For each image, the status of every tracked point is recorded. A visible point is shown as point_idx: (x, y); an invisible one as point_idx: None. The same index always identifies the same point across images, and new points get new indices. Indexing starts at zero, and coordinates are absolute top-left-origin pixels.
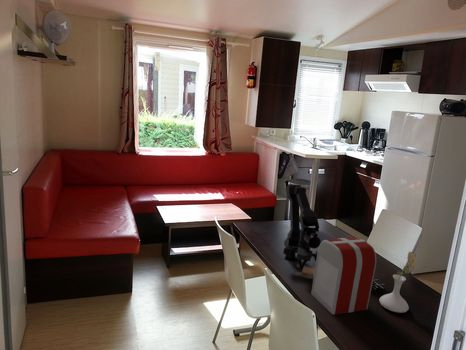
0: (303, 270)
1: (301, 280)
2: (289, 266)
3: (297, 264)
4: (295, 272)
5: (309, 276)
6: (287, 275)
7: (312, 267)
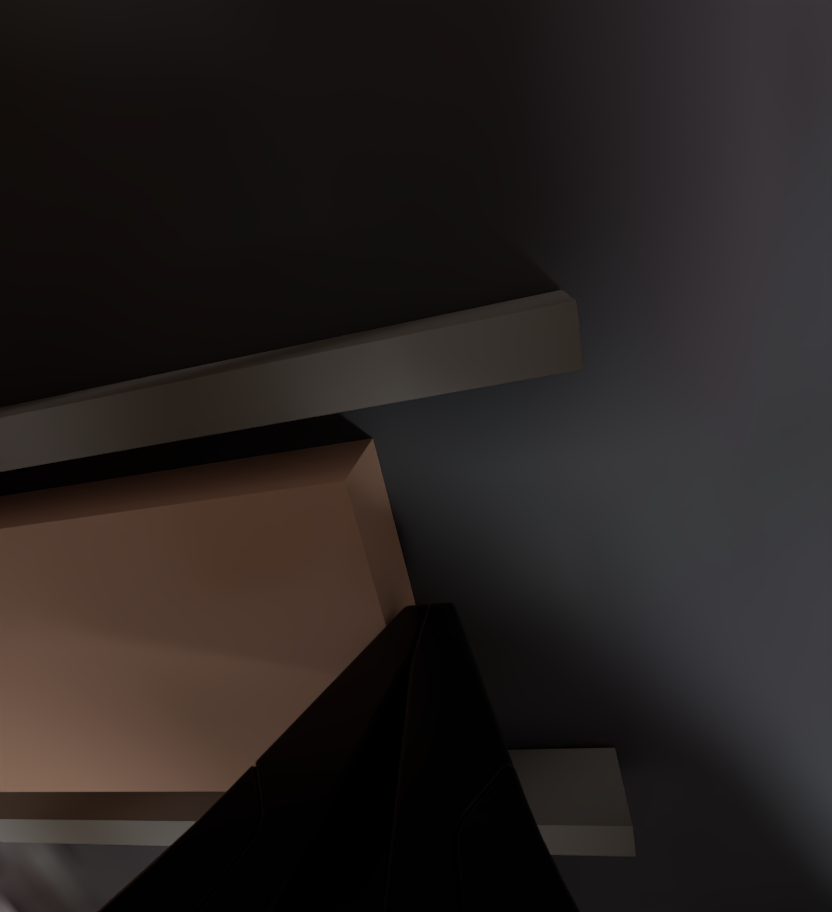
0: (336, 586)
1: (217, 63)
2: (814, 702)
3: (621, 826)
4: (532, 310)
5: (87, 394)
6: (792, 53)
7: None
